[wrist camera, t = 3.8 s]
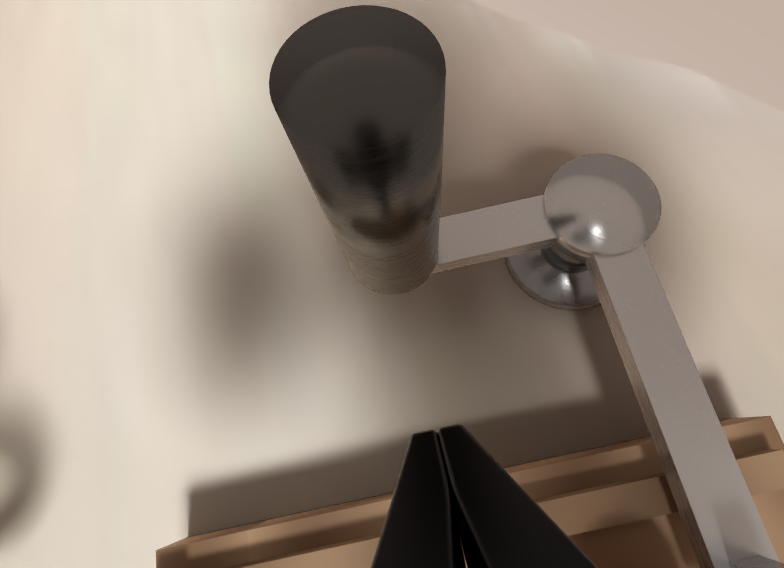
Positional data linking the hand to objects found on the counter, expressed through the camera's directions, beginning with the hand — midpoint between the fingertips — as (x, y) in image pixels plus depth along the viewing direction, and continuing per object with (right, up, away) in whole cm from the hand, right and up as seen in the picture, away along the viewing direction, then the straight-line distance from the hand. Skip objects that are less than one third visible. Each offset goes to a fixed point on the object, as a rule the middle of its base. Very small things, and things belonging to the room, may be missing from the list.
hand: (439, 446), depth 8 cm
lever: (+4, -1, +6) cm, 8 cm away
